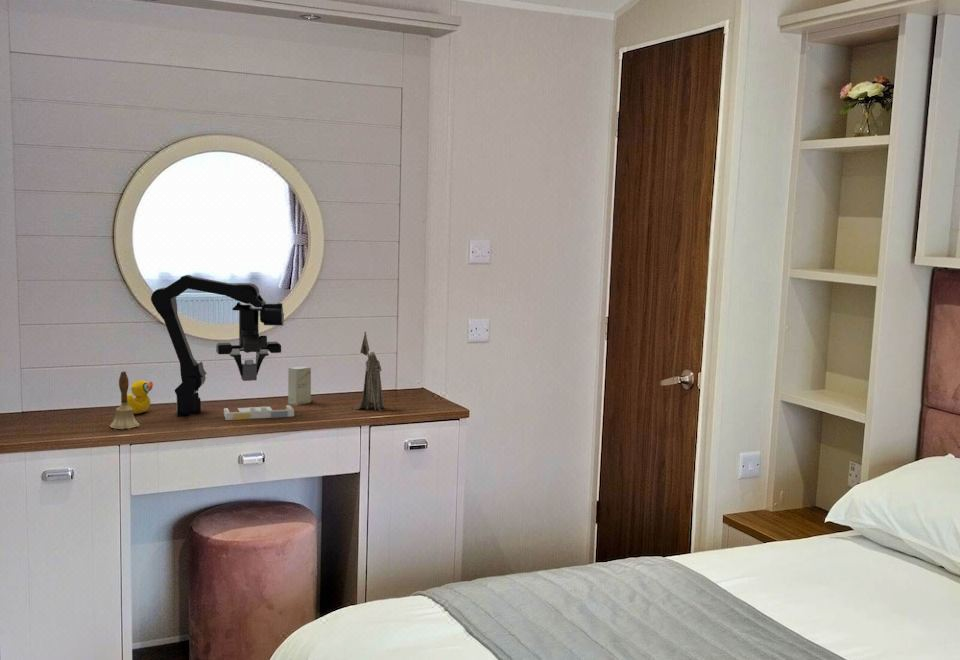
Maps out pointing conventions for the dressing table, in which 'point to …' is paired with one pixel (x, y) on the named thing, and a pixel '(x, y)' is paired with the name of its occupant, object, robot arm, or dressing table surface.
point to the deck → (254, 407)
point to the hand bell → (124, 407)
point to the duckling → (139, 396)
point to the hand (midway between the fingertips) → (248, 375)
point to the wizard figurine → (371, 380)
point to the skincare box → (299, 385)
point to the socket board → (259, 413)
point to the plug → (249, 370)
